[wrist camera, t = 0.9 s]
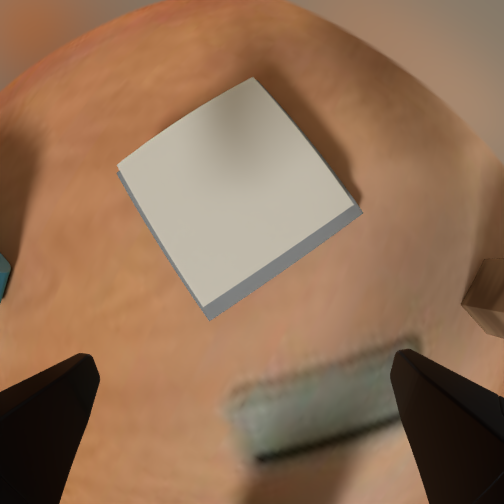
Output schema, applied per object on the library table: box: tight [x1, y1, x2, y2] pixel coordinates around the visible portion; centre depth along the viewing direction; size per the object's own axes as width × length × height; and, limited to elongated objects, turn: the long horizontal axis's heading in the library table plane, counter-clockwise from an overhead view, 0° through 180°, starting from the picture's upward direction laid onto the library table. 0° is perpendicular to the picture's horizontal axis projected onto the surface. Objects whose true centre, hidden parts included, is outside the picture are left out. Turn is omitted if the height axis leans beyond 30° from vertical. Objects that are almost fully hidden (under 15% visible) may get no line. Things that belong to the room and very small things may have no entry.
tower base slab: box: [117, 80, 363, 321], centre depth 22 cm, size 13×13×2 cm
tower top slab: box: [117, 77, 354, 307], centre depth 19 cm, size 11×11×2 cm
